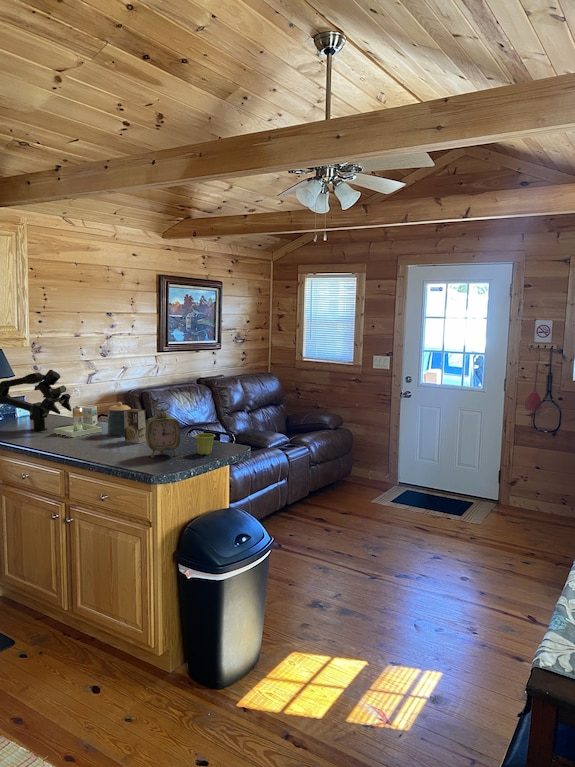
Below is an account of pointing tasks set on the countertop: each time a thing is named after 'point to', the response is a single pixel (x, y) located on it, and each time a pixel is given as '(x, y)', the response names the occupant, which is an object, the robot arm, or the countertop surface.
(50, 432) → the countertop surface
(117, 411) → the canister
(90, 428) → the cell tray
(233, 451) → the countertop surface
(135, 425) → the coffee box
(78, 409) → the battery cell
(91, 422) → the light bulb box
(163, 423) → the tabletop clock
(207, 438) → the plant pot
